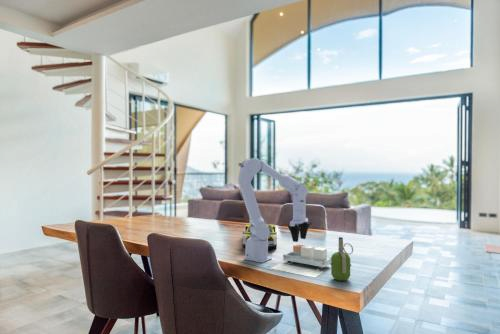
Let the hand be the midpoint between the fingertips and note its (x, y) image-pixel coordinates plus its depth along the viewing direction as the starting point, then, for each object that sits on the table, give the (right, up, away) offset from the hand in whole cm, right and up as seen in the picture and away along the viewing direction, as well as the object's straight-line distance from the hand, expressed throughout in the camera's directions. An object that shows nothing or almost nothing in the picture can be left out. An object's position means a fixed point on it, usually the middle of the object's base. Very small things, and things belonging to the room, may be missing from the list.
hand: (299, 240), depth 146 cm
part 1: (+1, -5, -13) cm, 14 cm away
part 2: (+6, -5, -17) cm, 18 cm away
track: (-2, -7, -17) cm, 19 cm away
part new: (0, -7, 0) cm, 7 cm away
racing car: (-17, -8, +27) cm, 32 cm away
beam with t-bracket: (+3, -7, -10) cm, 13 cm away
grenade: (+10, -7, -32) cm, 34 cm away
